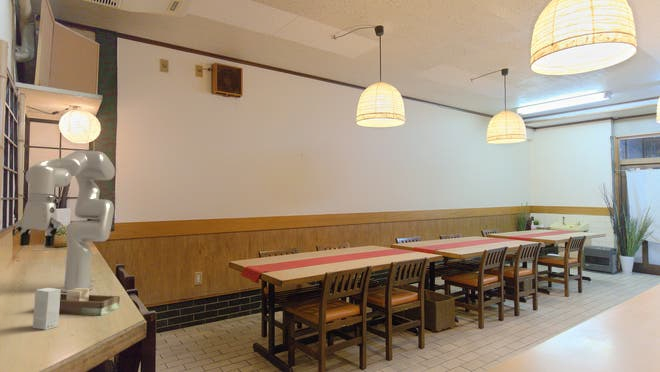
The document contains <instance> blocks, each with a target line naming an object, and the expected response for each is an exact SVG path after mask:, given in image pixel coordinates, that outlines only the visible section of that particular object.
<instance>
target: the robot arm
mask: <svg viewBox="0 0 660 372" xmlns="http://www.w3.org/2000/svg"><path fill="white" fill-rule="evenodd" d="M115 175H116V169H115V166H114V164H113V163H112V161H111V159H110V158H109V157H108V156H107V155H106V154H105V153H104V152H102V151H97V150H76V151H73V152H71V153H69V154H67V155H66V156H64V157H60V158H59V157H58V158H55V159H50V160H44V161H40V162H37V163H35V164H33V165H31V166H30V167H29V168H28V170H27V171H26V173H25V180H26V182H27V183H28V195H27V202H26V203H25V207H24V209H23V214H22V218H21V219H19V220H17V221H16V222H15V225H16V230H17V231H18V234H19V235H20V242H19V243H20V247H21V246H23V247H24V246H30V243H31V242H30V241H31V231H44V232H45V233H46V234H47V235H45V242H44V243H45V244H44V246H45V248H49V247H54V244H55V236H57V234H58V233H59V232H60V229H61V227H62V226H63V223H61V222H60V221H58V219H57V218H58V215H57V214H58V213H57V205H56V203H54V200H56V196H55V188H64V187H66V186H68V185H69V184H71V182H72V177H75V179H76V182H77V185H78V194H77V198H76V199H77V200H76V202H75V203H76V204H75V207H74V215H75V216H76V218H79V219H84V220H74V221H70V222H69V223H68V224H67V226H66V228H65V236H66V257H65V269H64V270H65V272H64V284H63V285H64V286H61V287H60V288H59V289H61V293H62V292H63V293H67V291H68V290H72V289H75V288H85V289H89V291H90V290H92V289H93V287H94V286H93V285H92V284H91V283H94V282H95V281H96V278H95V277H92V278H91V277H90V274H91V265H92V264H91V263H92V262H91V261H92V248H91V246H90V244H88V242H92V243H93V242H98V243H99V242H106V241H107V240H108V239H109V238H110V235H111V229H112V224H113V218H114V213H115V207H114V203H113V201H111V200H109V199H101V198H100V193H101V191H100V190H101V189H100V188H99V186H98V185H97V183H95V181H110V180H112V179H114V177H115Z"/></svg>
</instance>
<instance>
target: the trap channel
mask: <svg viewBox="0 0 660 372" xmlns="http://www.w3.org/2000/svg"><path fill="white" fill-rule="evenodd" d="M66 298H67V293H62V292H61V293H60V307H59V315H60V314H61V315H82V316H99V317H100V316H101V317H102V316H105V315H106V314H108V313H111V312H113V311H116V310H119V309H120V301H121V300H120V298H121V297H120V296H119V295H118V296H117V295H102V294H101V295H98V294H89V301H72V300H66Z"/></svg>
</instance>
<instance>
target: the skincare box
mask: <svg viewBox="0 0 660 372" xmlns="http://www.w3.org/2000/svg"><path fill="white" fill-rule="evenodd" d="M60 293H61V294H62V292H61V289H60V288H55V287H44V288H43V287H42V288H38V289H35V295H34V307H33V316H32V317H33V318H32V329H33V328H34V329H38V330H44V331H46V330H50V329H54V328H57V327H59V319H60V314H59V307H60Z"/></svg>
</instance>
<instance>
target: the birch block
mask: <svg viewBox="0 0 660 372" xmlns="http://www.w3.org/2000/svg"><path fill="white" fill-rule="evenodd" d="M66 294H67V298H66V300H72V301H89V295H90V290H89V289H85V288H75V289H72V290H68V291H67V292H66Z"/></svg>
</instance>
